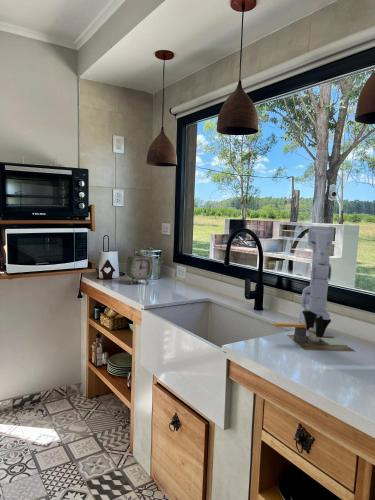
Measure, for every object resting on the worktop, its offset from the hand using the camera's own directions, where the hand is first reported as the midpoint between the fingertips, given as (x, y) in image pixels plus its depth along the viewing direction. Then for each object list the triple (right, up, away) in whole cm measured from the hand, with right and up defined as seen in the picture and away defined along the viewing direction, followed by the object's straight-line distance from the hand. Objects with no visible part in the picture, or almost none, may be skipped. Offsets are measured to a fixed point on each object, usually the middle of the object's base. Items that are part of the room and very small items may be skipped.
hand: (314, 333), depth 135 cm
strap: (-9, +3, -2) cm, 10 cm away
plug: (0, -3, 0) cm, 4 cm away
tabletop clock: (-78, +10, +92) cm, 121 cm away
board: (+2, -5, +1) cm, 5 cm away
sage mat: (+8, -4, +3) cm, 9 cm away
